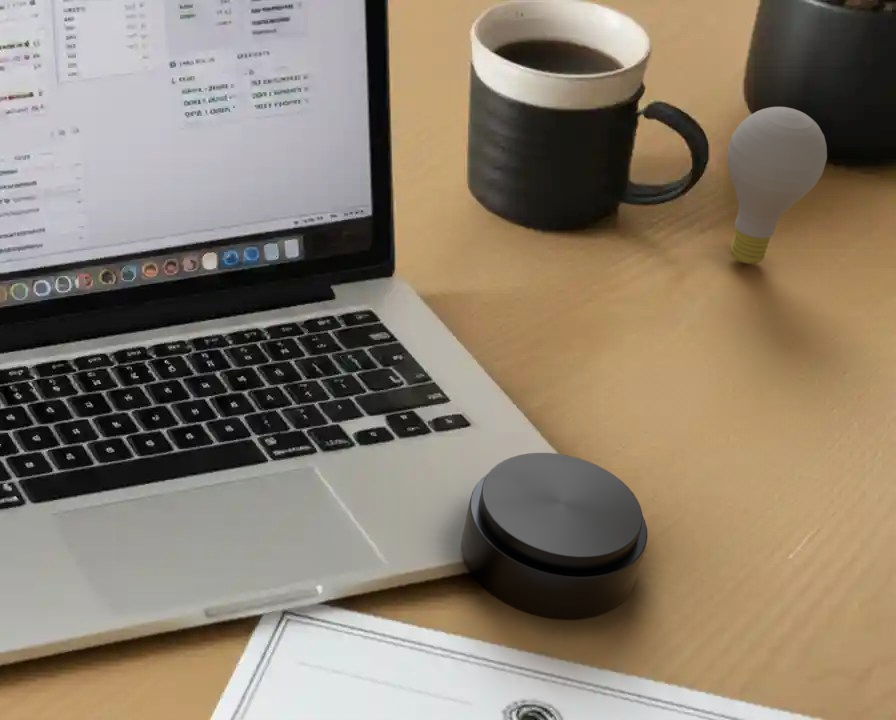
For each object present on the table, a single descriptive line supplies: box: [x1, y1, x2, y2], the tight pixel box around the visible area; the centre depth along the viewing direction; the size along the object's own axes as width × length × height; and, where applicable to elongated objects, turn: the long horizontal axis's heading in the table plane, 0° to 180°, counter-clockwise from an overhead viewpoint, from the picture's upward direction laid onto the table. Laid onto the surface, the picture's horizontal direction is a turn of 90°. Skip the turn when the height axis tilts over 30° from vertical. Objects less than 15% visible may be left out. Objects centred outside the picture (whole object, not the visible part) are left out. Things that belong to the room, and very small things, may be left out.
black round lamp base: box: [460, 452, 648, 620], centre depth 75 cm, size 8×8×3 cm
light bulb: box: [726, 106, 828, 265], centre depth 97 cm, size 6×6×10 cm
